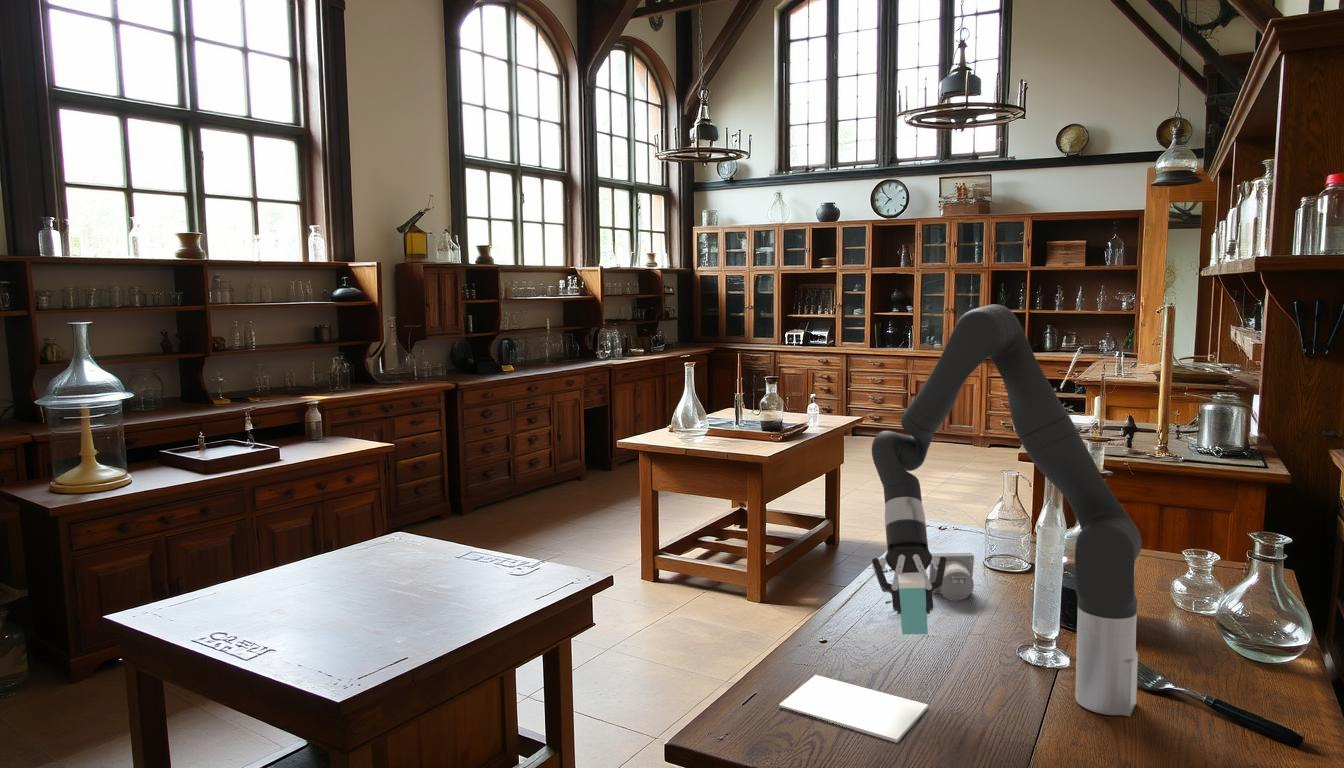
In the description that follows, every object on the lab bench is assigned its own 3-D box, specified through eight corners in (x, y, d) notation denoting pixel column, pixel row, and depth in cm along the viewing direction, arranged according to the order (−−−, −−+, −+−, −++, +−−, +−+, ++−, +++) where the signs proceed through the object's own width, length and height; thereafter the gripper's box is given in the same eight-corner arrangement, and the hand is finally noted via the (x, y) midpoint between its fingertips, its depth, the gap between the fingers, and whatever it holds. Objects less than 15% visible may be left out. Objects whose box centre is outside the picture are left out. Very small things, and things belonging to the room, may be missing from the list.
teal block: (925, 622, 164) (922, 572, 162) (927, 634, 160) (924, 582, 158) (900, 623, 165) (897, 573, 163) (902, 634, 161) (899, 583, 159)
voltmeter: (950, 583, 216) (950, 544, 215) (989, 597, 207) (989, 556, 206) (871, 608, 203) (871, 566, 201) (909, 623, 193) (909, 580, 192)
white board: (928, 707, 155) (928, 704, 155) (897, 742, 144) (897, 739, 144) (815, 677, 168) (815, 674, 168) (779, 707, 157) (779, 704, 157)
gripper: (866, 519, 168) (872, 606, 158) (944, 516, 165) (955, 605, 155) (868, 535, 174) (873, 620, 164) (943, 532, 171) (953, 619, 161)
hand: (913, 612), depth 160 cm, fingers closed on teal block, 4 cm apart
